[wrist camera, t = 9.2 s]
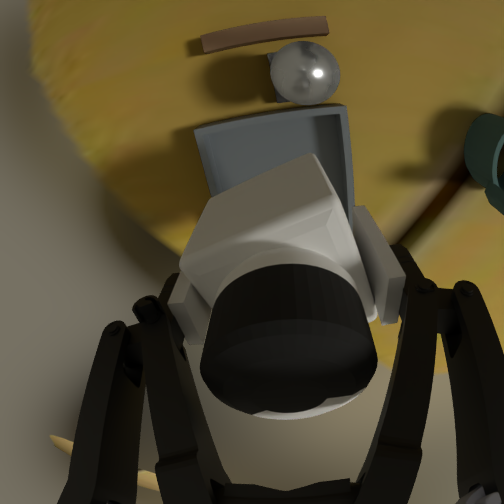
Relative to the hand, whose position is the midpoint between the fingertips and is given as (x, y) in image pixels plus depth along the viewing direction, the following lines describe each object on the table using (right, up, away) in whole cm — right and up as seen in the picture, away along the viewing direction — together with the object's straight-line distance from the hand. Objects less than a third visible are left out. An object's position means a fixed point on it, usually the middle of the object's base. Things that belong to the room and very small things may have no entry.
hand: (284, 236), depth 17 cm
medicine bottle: (0, +1, +2) cm, 2 cm away
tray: (+1, +6, +9) cm, 11 cm away
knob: (+2, +14, +3) cm, 14 cm away
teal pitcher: (+24, +10, +4) cm, 26 cm away
